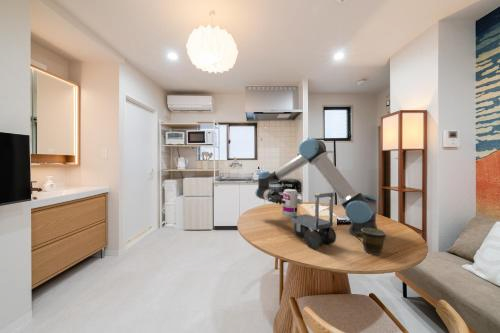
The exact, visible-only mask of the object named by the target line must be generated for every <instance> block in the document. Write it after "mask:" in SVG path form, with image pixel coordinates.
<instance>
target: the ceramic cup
mask: <svg viewBox="0 0 500 333" xmlns="http://www.w3.org/2000/svg"><path fill="white" fill-rule="evenodd" d="M357 233H360V234H361V235H362V238H360V237H357V236H356V234H357ZM386 236H387V232H385V231H384V230H381V229H379V228H378V229H374V228H362V229H361V232H356V233H355V236H354V237H355V238H356V239H357V240H359V241H360V242H361V243H362V245H363V251H364V252H365V253H366V254H367V253H368V255H370V254H371V256H377V255H379V256H380V255H382V252H383V249H384V244H385V242H386Z"/></svg>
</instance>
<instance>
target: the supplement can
mask: <svg viewBox="0 0 500 333" xmlns="http://www.w3.org/2000/svg"><path fill="white" fill-rule="evenodd" d="M282 195H283V199H285V200H289V201H290V206H288V205H285V204H282V215H283V216H284V217H286V218H290V217H292V216H298V199H299V198H298V197H299V194H298V190H297V189H292V188H285V189H284V191H283V194H282Z"/></svg>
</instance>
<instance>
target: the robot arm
mask: <svg viewBox="0 0 500 333" xmlns="http://www.w3.org/2000/svg"><path fill="white" fill-rule="evenodd" d="M298 152H299V153H298V154H299V155H297V156H296V157H294V158H293V159H291V160H290V161H288V162H287V163H285V164H284V165H282V166H281V167H279V168H277V169H275V170H274V171H273V172H271V173H270V171H268V170H260V171H259V172H258V178H257V179H258V183H257V184H258V185H257V186H258V187H257V188H256V190H255V196H256V197H257V198H259V199H260V200H264V201H268V202H271V203H273V204H274V203H275V204H277V205H283V204H285V205H288V206H290V201H289V200H285V199H283V194H281V193H279V192H278V191H277V190H273V189H270V185H271V184H272V185H273V184H277V183H280V182H281V180H282V179H284V178H285V177H288V176H289V175H290V174H292V173H294V172H296V171H297V170H299V169H300V168H302V167H305V165H307V164H310V165H311V166H315V167H316V169H317V170H318V172H319V173H320V175H322V177H323V178H324V179H325V180H326V182H327V183H328V185H329V186H330V187H331V189H333V191H334V192H335V194H336V195H337V196H338V198H339V199H340V200H341V202H340V204H341V206H342V207H343V209H344V210H345V211H344V212H345V215H346V217H347V218H348V219H349V221H351V222H350V226H349V228H348V232H349V234H350V235H351V236H354V237H356V236H357V237H358V238H360V239H362V235H361V234H360V233H357V234H356V236H355V233H356V232H361V229H362V228H374V229H379V228H378V226H377V223H376V222H377V202H378V200H377V196H376V195H371V194H362V193H361V192H360V191H356V190H355V188H354V187H353V186H352V185H351V184H350V182H349V181H348V180H347V178H345V176H344V175H343V174H342V173H341V171H340V170H339V169H338V168H337V166H335V164H334V163H333V161H332V160H331V159H330V157H328V151H327V146H326V144H325V143H324V141H322V140H321V139H316V138H313V137H310V138H309V137H308V138H305V139H303V140H302V141H301V142H300V143H299V146H298ZM299 204H300V205H303V199H301V198H298V203H297V205H299Z"/></svg>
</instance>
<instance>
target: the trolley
mask: <svg viewBox="0 0 500 333" xmlns="http://www.w3.org/2000/svg"><path fill="white" fill-rule="evenodd" d="M334 195H335V193H334V192H325V193H316V194H314V198H315V204H314V207H315V209H314V215H311V214H308V213H305V214H299V215H298V214H297V216H292V217H289V221H291V222H294V224H293V231H294V233H295V235H296V236H297V237H298V238H300V239H304V241H305V244H306V245H307V247H308V248H310V249H312V250H314V249H319V248H321V246H322V244H323V245H327V246H328V245H333V244H335V242H336V240H337V234H336V231H335V230H334V228H333V226H334V222H333V219H334V218H333V212H334V210H333V208H334ZM328 197H329V202H328V203H329V204H328V206H329V207H328V209H329V210H328V214H329V215H328V220H326V219H323V218H320V217H319V214H320V213H319V210H320V199H321V198H328Z"/></svg>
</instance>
